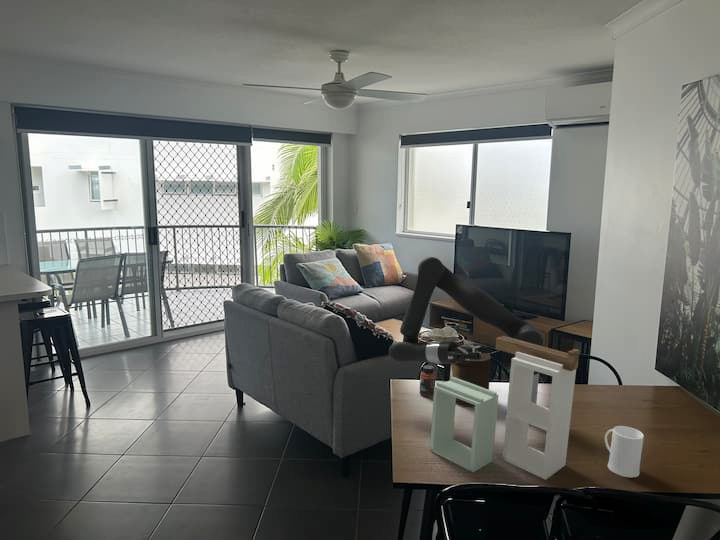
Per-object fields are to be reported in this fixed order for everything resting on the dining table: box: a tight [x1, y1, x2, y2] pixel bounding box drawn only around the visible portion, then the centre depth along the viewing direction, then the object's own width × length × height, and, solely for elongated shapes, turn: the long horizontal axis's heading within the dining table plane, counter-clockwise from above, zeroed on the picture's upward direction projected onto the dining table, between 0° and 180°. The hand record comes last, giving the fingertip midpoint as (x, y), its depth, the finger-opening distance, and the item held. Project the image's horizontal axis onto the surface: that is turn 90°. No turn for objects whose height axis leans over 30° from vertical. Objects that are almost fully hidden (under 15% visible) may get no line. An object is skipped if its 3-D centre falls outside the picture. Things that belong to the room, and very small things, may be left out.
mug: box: [604, 425, 645, 478], centre depth 155 cm, size 12×8×12 cm
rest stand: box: [429, 376, 499, 473], centre depth 157 cm, size 10×16×22 cm, turn 43°
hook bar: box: [495, 335, 580, 371], centre depth 153 cm, size 4×24×5 cm, turn 43°
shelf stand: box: [501, 352, 577, 481], centre depth 154 cm, size 12×14×34 cm
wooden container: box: [449, 343, 492, 408], centre depth 199 cm, size 15×15×22 cm
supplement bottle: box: [419, 365, 437, 398], centre depth 203 cm, size 6×6×11 cm
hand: (486, 352), depth 168 cm, fingers open, 8 cm apart
